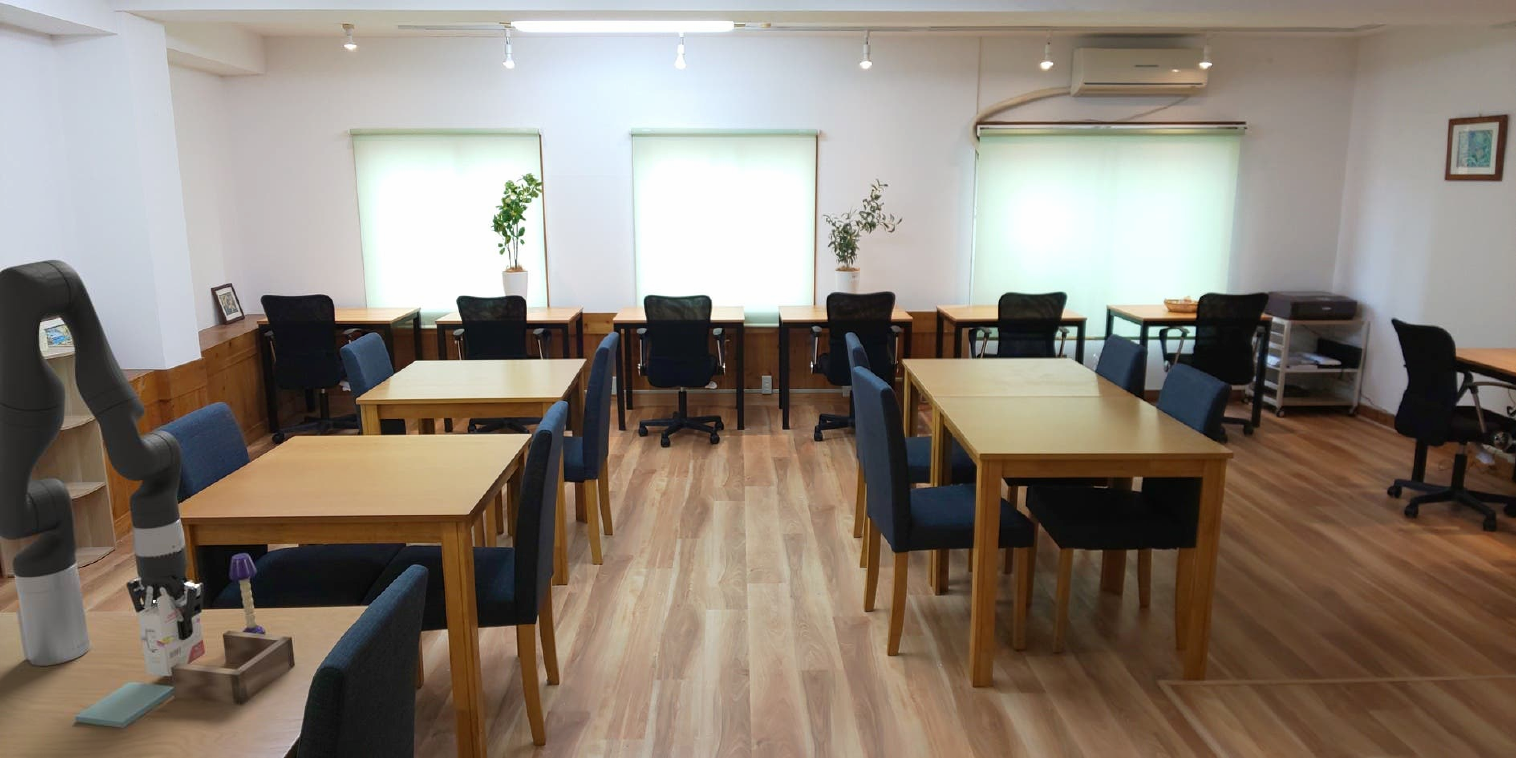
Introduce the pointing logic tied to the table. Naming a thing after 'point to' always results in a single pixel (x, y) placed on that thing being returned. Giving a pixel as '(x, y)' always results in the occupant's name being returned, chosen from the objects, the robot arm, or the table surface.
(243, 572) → the toy lamp
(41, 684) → the table surface
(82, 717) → the teal coaster
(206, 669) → the walnut cubby
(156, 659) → the ink cartridge box
